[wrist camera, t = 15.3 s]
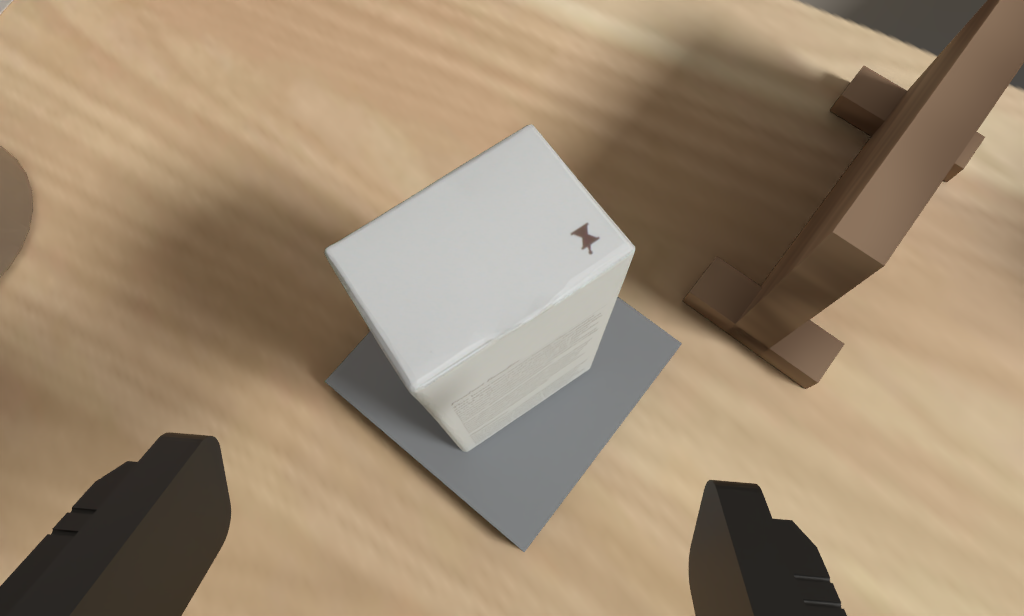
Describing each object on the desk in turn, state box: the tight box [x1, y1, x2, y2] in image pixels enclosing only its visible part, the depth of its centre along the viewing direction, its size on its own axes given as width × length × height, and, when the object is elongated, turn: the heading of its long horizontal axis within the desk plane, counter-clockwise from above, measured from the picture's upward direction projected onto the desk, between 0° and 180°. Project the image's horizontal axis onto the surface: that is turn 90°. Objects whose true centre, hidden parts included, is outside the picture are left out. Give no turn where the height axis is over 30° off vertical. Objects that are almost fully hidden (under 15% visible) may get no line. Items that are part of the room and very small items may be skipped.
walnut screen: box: [683, 0, 1024, 389], centre depth 25 cm, size 6×14×10 cm, turn 141°
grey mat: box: [325, 297, 682, 552], centre depth 27 cm, size 10×10×1 cm
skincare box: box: [325, 125, 635, 452], centre depth 21 cm, size 6×4×12 cm
